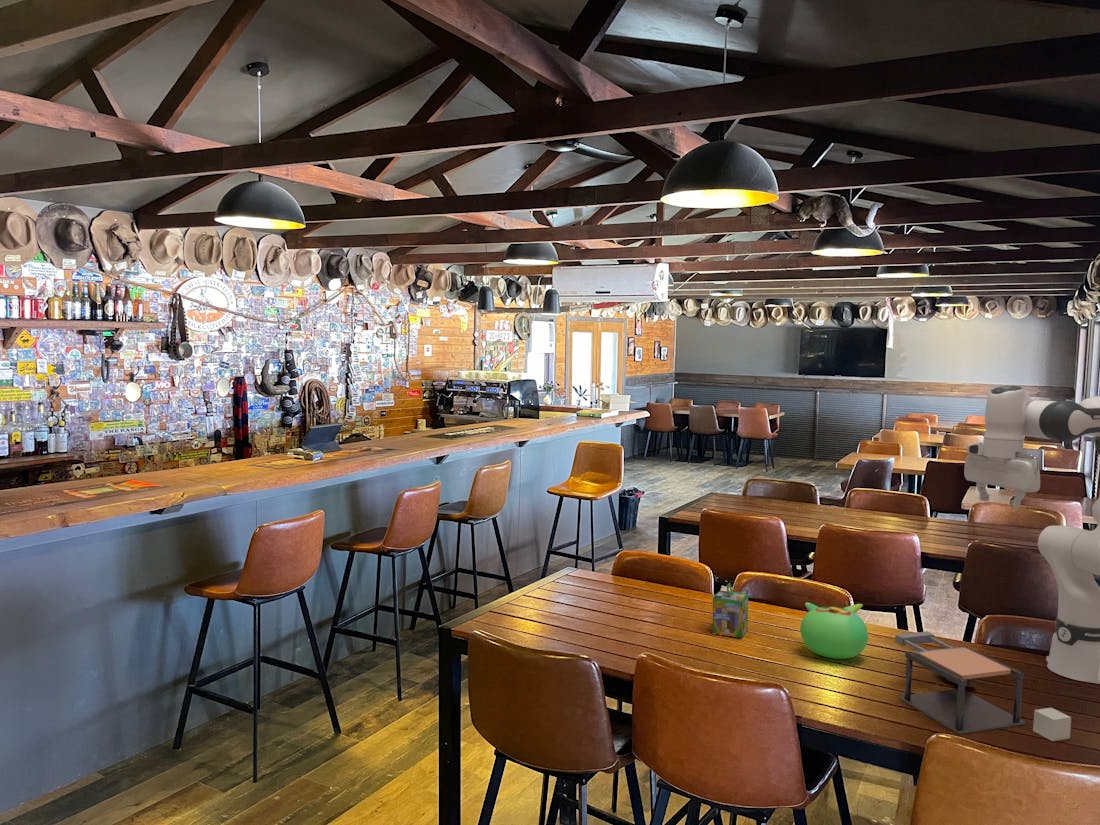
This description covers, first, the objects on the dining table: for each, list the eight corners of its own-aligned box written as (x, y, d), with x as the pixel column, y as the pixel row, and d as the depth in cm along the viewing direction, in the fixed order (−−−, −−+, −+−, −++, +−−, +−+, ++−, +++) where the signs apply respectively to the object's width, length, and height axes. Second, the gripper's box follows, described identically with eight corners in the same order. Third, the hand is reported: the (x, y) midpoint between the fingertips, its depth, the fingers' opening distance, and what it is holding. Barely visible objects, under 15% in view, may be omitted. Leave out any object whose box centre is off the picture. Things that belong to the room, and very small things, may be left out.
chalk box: (741, 639, 236) (743, 590, 235) (711, 634, 241) (712, 586, 239) (748, 630, 245) (750, 583, 244) (719, 625, 249) (720, 578, 248)
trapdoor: (887, 642, 205) (888, 635, 204) (933, 638, 209) (934, 630, 209) (961, 682, 182) (961, 673, 181) (1011, 675, 186) (1011, 667, 186)
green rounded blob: (797, 661, 220) (800, 609, 219) (800, 641, 236) (802, 592, 235) (867, 671, 214) (870, 618, 213) (866, 649, 230) (868, 600, 229)
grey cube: (1050, 728, 183) (1051, 707, 183) (1069, 738, 178) (1071, 717, 178) (1032, 731, 182) (1034, 710, 181) (1052, 741, 177) (1053, 719, 176)
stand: (899, 698, 197) (901, 651, 197) (961, 690, 203) (964, 644, 202) (958, 734, 179) (961, 682, 178) (1025, 724, 185) (1028, 674, 184)
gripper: (1048, 455, 193) (1045, 511, 194) (980, 445, 213) (977, 496, 214) (1028, 455, 191) (1025, 512, 192) (961, 445, 211) (958, 497, 212)
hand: (999, 504), depth 203 cm, fingers open, 8 cm apart
